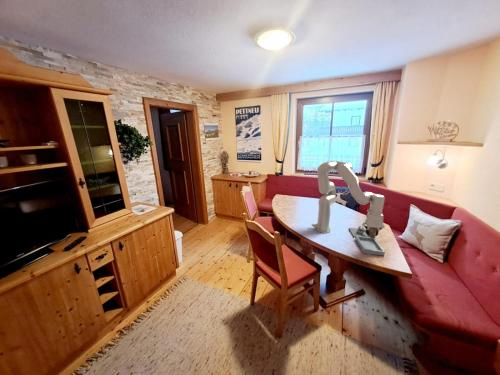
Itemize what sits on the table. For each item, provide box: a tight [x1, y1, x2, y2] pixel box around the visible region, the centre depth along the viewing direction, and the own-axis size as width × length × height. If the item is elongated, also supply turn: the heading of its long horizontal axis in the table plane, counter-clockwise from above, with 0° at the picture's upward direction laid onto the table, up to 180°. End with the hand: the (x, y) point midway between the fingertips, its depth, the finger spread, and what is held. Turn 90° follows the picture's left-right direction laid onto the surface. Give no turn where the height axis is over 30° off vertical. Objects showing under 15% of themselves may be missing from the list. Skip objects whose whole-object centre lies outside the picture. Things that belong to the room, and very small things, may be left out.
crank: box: [357, 226, 366, 232], centre depth 155 cm, size 14×5×5 cm, turn 28°
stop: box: [367, 227, 377, 239], centre depth 139 cm, size 5×5×8 cm
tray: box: [355, 236, 386, 256], centre depth 142 cm, size 13×19×3 cm
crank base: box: [348, 227, 368, 238], centre depth 161 cm, size 14×14×3 cm
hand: (371, 234), depth 140 cm, fingers closed on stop, 5 cm apart
